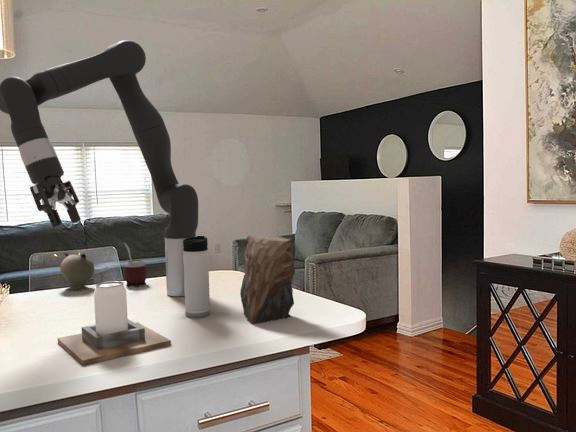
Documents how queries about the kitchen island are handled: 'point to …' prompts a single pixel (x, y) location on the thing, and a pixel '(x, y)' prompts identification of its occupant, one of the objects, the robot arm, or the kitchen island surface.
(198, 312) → the travel mug
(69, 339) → the mount
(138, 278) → the mate gourd
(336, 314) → the kitchen island surface
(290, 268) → the brown rock
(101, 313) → the can
